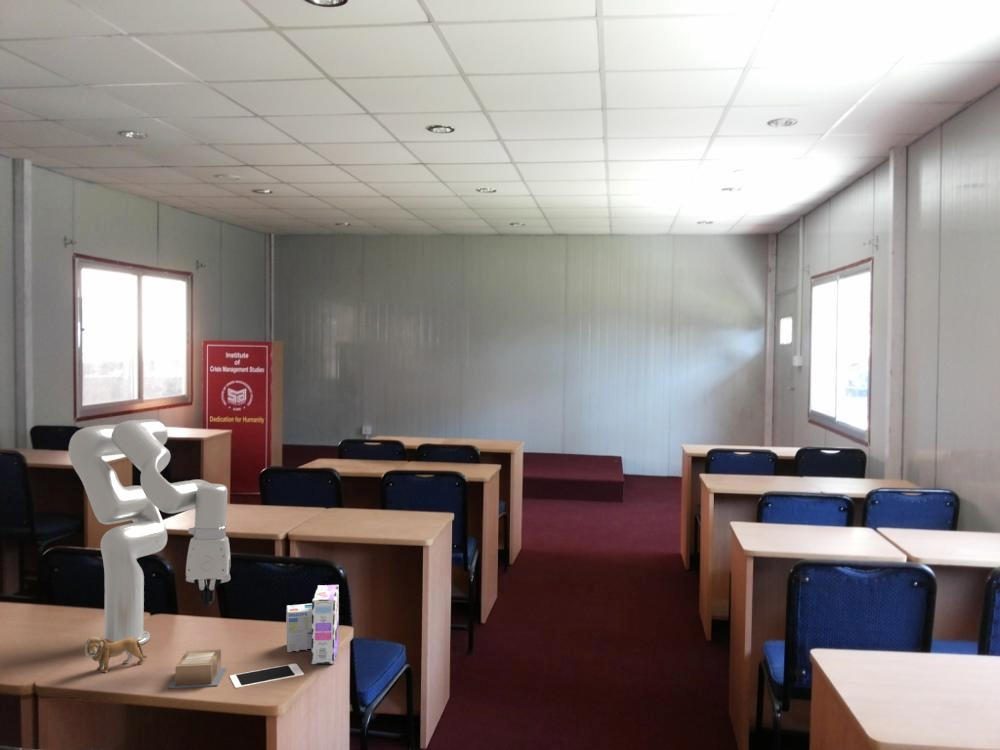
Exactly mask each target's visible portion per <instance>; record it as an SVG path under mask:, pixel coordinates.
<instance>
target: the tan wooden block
mask: <svg viewBox="0 0 1000 750" xmlns="http://www.w3.org/2000/svg"><path fill="white" fill-rule="evenodd" d="M220 668H222V649H221V648H220V649H219V648H218V649H217V648H216V649H215V648H214V649H197V650H196V649H195V650H186V652H185V653H184V654H183V656H182V657H181V658H180V660H179V661H178V663H177V664H176V665H175V668H174V669H175V672H174V673H175V676H174V678H175V686H182V685H202V684H212V682H213V680H214V678H215V677H216V675H217V673H218V671H219V670H220Z"/></svg>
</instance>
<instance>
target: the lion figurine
mask: <svg viewBox="0 0 1000 750" xmlns="http://www.w3.org/2000/svg"><path fill="white" fill-rule="evenodd" d="M101 637H102V636H101ZM101 637H100V636H92V637H89V638H88V639H87V640H86V642H85V645H84V655H85V656H86V657H87V658H89V659H92V660H93V661H95V662H98V664H99V666H97V668H96V670H97V669H101V668H102V669H101V673H102V672H106V671H107V672H108V671H109V661H110V659H111V658H115V657H116V658H117V657H118V656H121V655H122V654H124V653H126V654H127V655H126V656H127V659H125V660H123V661H122V663H123V664H128V663H129V662H131V659H133V657H135V658H137V659H139V660H138V661H137V663H136V664H137V665H142V664H143V662H144V659H147V658H148V656H146V655H144V651H143V647H142V644H140V642H139V641H138V640H137V639H135V638H126V639H123V640H120V641H117V642H112V641H110V640H108V639H104V638H101ZM137 645H138V646H137ZM107 672H106V673H107Z"/></svg>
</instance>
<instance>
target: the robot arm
mask: <svg viewBox="0 0 1000 750" xmlns="http://www.w3.org/2000/svg"><path fill="white" fill-rule="evenodd" d="M168 437H169V435H168V430H167V428H166V426H165V424H164V423H162V421H159V420H158V419H155V418H154V419H153V418H150V419H148V418H145V419H144V418H143V419H133V420H132V419H130V420H126V421H125V420H124V421H123V422H120V423H118V424H109V425H108V424H106V425H94V426H86V427H84V428H81V429H79V430H76V431H75V433H74V434H73V435H72V436H71V438H70V440H69V444H68V456H69V460H70V463H71V464H72V467H73V468H74V470H75V472H76V474H77V476H78V477H79V479H80V480H81V482H82V485H83V487H84V490H85V493H86V495H87V498H88V501H89V503H90V506H91V508H92V512H93V513H94V515H95V518H96V519H97V521H98V522H99V523H100V524H103V525H113V524H120V523H124V522H128V521H132V523H127V524H123V525H118V526H115V527H113V528H111V529H109V530H107V531H106V532H105V533H104V534H103V536H102V537H101V540H100V552H101V557H102V561H103V569H104V570H103V571H104V632H103V633H104V635H103V636H101V638H104V639H108V640H110V641H112V642H117V641H120V640H123V639H126V638H135V639H137V640H138V641H139V642H140V644H141V645H143V644H145V643H146V642H148V641H149V640H150V638H151V637H150V636H151V635H150V634H151V633H150V632H148V631H147V630H144V624H145V623H144V621H145V618H144V613H145V612H144V609H145V607H144V602H145V598H144V597H145V596H144V595H145V591H144V588H145V587H144V586H145V580H144V579H145V576H144V571H143V569H142V567H141V566H140V564H139V563H138V561H137V560H138V559H139V558H141V557H142V558H143V557H145V556H150V555H153V554H155V553H159V552H161V551H162V550H164V549H165V547H166V545H167V543H168V532H167V531H168V530H167V528H166V525H165V522H164V520H163V517H162V515H161V514H162V513H165V514H176V513H177V514H178V513H180V512H186V511H191V510H195V512H194V514H195V515H194V516H195V517H194V526H193V527H189V528H188V530H187V531H188V534H191V535H193V537H191V538H190V541H189V545H188V550H187V556H186V564H185V577H186V578H185V581H186V582H188V583H192V584H193V583H194V584H195V585H196V586H197V587H198V588H199V590H200V602H202V607H205V606H207V607H210V605H211V604H212V602H214V601H215V591H216V590H215V589H216V588H217V587H218V586H219V585H220V584H223V583H227V582H229V581H231V574H230V572H231V549H230V548H231V547H230V539H229V537H228V536H227V532H226V531H227V517H228V516H227V513H228V512H227V511H228V510H227V509H228V508H227V507H228V494H229V493H228V488H227V486H226V485H224V484H222V483H211V482H208V481H207V480H204V479H191V480H184V481H183V480H182V481H177V482H172V483H171V482H169V481H168V480H167V479H166V478H164V477H163V475H162V474H161V472H162V471H163V470H164V469H165V468H166V467H167V466H168V464H169V463H170V461H171V457H172V456H171V453H170V452H171V451H170V450H169V449H168V448H167V447H165V446H164V445H166V443H167V441H168ZM116 455H117V456H118V455H124V456H125V457H126V458H127V459H128V460H129V461H130V462H131V463H132V464H133V465H134V466H135V467H136V468H137V469H138V470H139V471H140V472H141V473H140V479H139V480H140V485H130V486H129V485H128V486H123V484H122V483H121V481H120V480H119V477H118V474H117V472H116V470H115V469H114V468H113V467H112V466H111V465H110V464H109V463H108V462H107V461H105V460H104V459H103V458H102V457H108V456H116ZM160 511H161V512H162V513H160ZM208 580H210V582H209V586H208V583H207V581H208ZM137 647H138V645H137Z"/></svg>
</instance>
